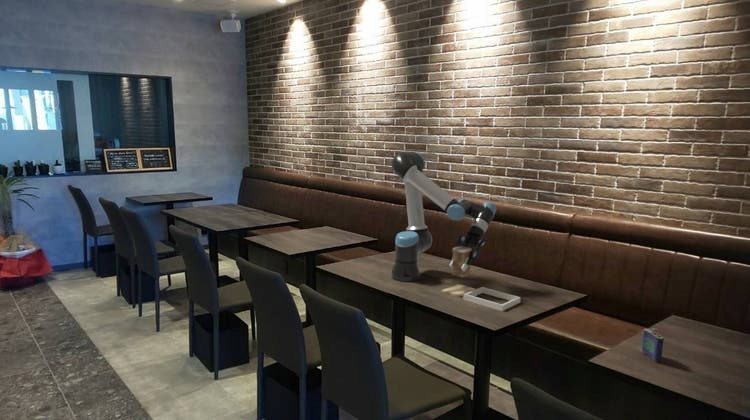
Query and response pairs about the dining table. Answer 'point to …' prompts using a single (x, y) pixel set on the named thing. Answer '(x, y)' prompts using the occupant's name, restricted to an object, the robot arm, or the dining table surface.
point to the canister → (460, 261)
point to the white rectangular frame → (501, 307)
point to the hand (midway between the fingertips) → (457, 268)
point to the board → (457, 290)
